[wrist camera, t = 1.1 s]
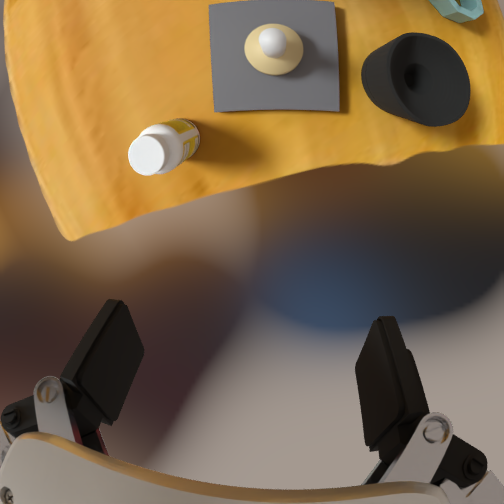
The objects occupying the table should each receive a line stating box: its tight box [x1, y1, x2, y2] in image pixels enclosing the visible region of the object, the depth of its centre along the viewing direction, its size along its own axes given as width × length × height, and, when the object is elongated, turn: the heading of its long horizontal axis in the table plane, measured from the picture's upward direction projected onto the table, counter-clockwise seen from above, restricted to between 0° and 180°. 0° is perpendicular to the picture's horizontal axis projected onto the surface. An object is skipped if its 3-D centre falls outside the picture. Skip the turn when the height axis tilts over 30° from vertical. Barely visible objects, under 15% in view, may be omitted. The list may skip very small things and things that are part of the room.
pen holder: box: [361, 33, 470, 127], centre depth 21 cm, size 9×9×10 cm
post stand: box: [209, 0, 339, 112], centre depth 22 cm, size 14×14×8 cm
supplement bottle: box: [128, 119, 200, 175], centre depth 28 cm, size 5×5×10 cm
